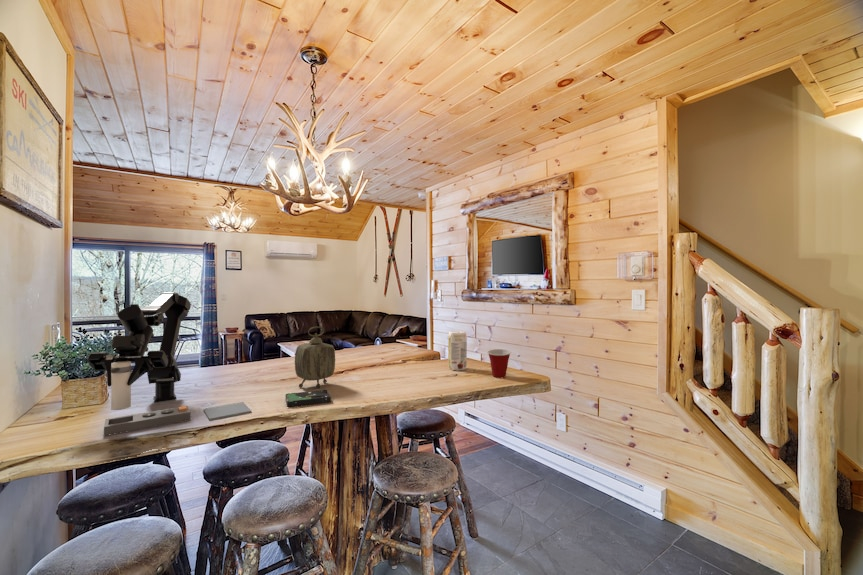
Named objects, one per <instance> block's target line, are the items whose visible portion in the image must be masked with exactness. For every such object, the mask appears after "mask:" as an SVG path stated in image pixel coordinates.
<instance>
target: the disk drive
mask: <svg viewBox="0 0 863 575" xmlns="http://www.w3.org/2000/svg"><path fill="white" fill-rule="evenodd" d="M328 391H329V390H327V389H321V390H312V391H310V390H309V391H301V392H292V393H286V394H285V403H286V408H287V407H290V408H298V407H305V406H306V405H307V406H314V404H315V405H323V404H330V403H331V402H332V401H331V400H332V396H331V395H330V394H329V392H328ZM297 406H298V407H297Z"/></svg>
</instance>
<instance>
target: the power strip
mask: <svg viewBox="0 0 863 575" xmlns="http://www.w3.org/2000/svg"><path fill="white" fill-rule="evenodd" d="M188 421H191V411H190V408H189V406H188V405H182V406H178V407H177V406H176V407H172V408H171V407H170V408H165V409H159V410H152V411H147V412H140V413H135V414H128V415H122V416H117V417H110V418H109V417H108V418H105V420H104V425H103V426H104V427H103V436H104V435H108V436H110V435H109V434H113V435H115V434H114V433H118V434H121V433H120V432H124V433H127V432H126V431H129V432H133V431H134V430H135V431H139V430H145V429H149V428H155V427H161V426H166V425H171V424H178V423H183V422H188Z"/></svg>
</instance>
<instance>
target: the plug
mask: <svg viewBox="0 0 863 575" xmlns="http://www.w3.org/2000/svg"><path fill="white" fill-rule="evenodd" d="M131 373H132V364H131V361H121V362H114V363H111V386H110V410H111V411H121V410H125V409H129V408H131V407H132V384H131V385H130V386H128V384H127V383H128V380H129V377H130V375H131Z"/></svg>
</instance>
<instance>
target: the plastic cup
mask: <svg viewBox="0 0 863 575" xmlns="http://www.w3.org/2000/svg"><path fill="white" fill-rule="evenodd" d="M511 353H512V351H511V350H508V349H502V348H501V349H500V348H499V349H497V348H495V349H489V350H487V354H488V357H489V362H490V367H491V373H492V376H493V378H496V379H502V378H506V376H507V371H508V365H509V361H510V360H509V359H510V356H511Z"/></svg>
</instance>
